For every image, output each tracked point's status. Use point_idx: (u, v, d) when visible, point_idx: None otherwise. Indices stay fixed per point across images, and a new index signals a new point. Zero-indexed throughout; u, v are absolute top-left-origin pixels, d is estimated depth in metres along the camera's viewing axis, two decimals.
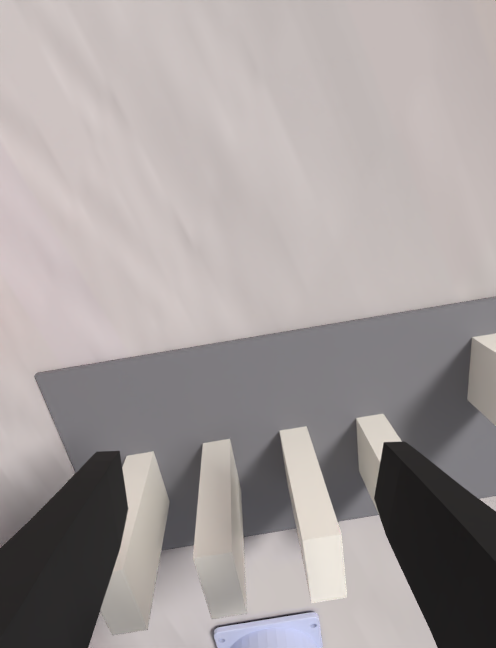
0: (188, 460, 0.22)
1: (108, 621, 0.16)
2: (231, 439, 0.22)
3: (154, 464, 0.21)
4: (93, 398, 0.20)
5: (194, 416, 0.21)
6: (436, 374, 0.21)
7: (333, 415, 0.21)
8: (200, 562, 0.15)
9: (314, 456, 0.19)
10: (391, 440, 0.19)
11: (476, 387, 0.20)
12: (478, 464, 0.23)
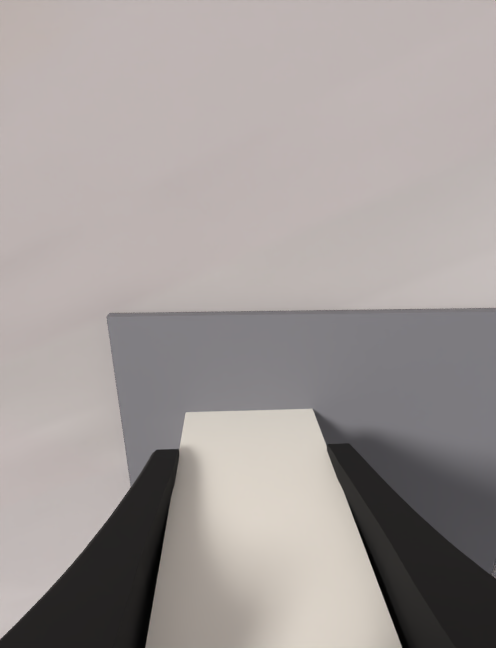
0: None
1: None
2: None
3: None
4: None
5: None
6: None
7: None
8: None
9: None
10: None
11: None
12: (462, 419, 0.12)
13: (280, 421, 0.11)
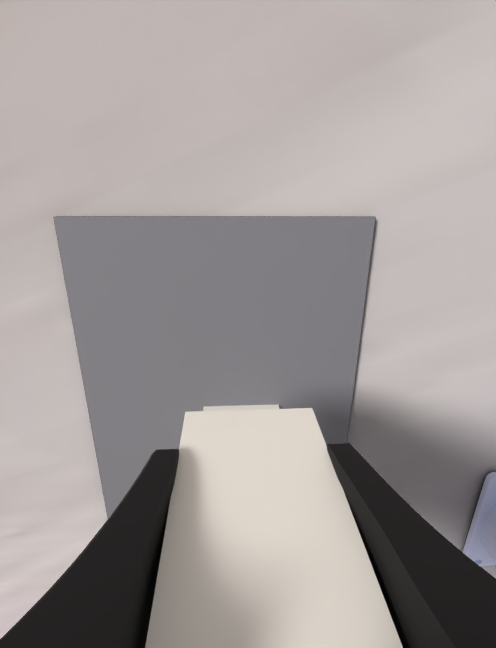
0: None
1: None
2: None
3: None
4: None
5: None
6: (160, 355, 0.18)
7: None
8: None
9: None
10: None
11: None
12: (304, 298, 0.18)
13: (279, 420, 0.11)
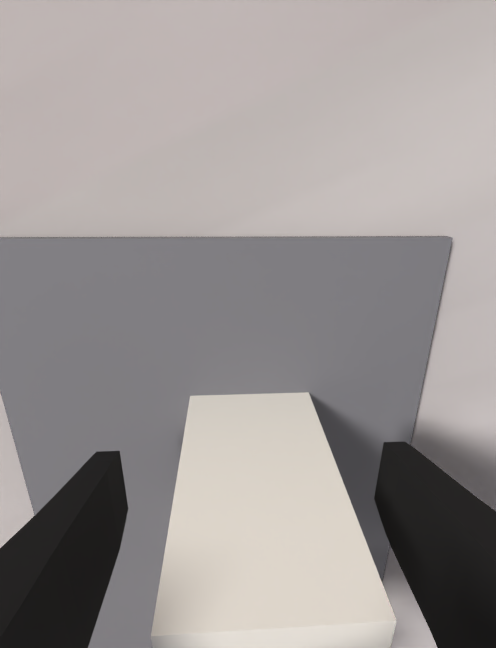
0: None
1: None
2: None
3: None
4: None
5: None
6: (131, 434, 0.13)
7: None
8: None
9: None
10: None
11: None
12: (341, 354, 0.12)
13: (278, 403, 0.12)
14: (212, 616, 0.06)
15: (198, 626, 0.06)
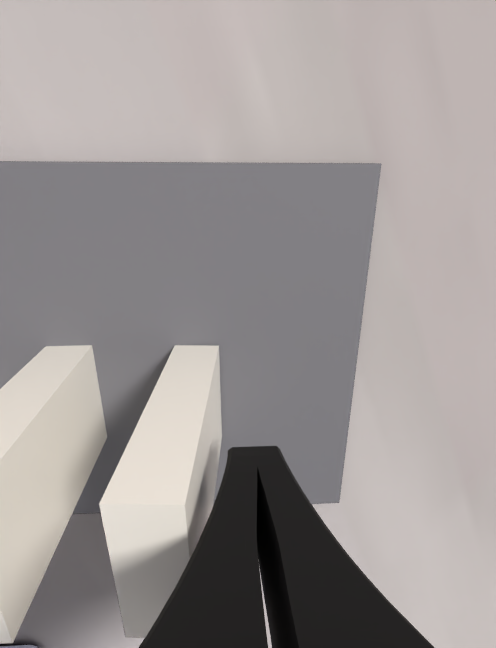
0: None
1: None
2: None
3: None
4: None
5: None
6: (173, 289, 0.13)
7: (5, 335, 0.13)
8: None
9: None
10: (50, 377, 0.11)
11: None
12: None
13: (219, 422, 0.14)
14: (188, 531, 0.07)
15: (188, 529, 0.07)
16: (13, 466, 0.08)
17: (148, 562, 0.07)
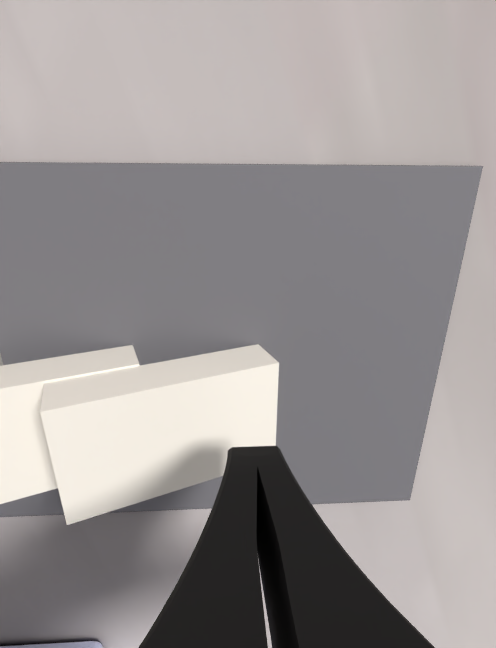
0: None
1: None
2: None
3: None
4: None
5: None
6: (270, 288, 0.13)
7: (102, 334, 0.13)
8: None
9: None
10: (62, 370, 0.12)
11: None
12: (334, 450, 0.16)
13: (260, 439, 0.13)
14: (57, 439, 0.10)
15: (49, 435, 0.10)
16: None
17: None
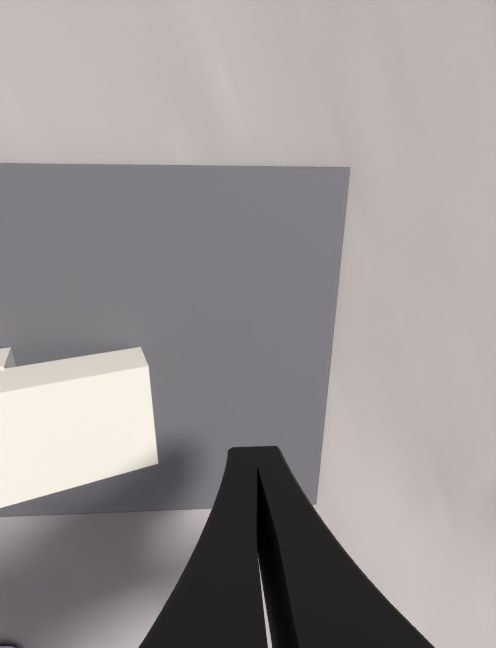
0: None
1: None
2: None
3: None
4: None
5: None
6: (145, 290, 0.13)
7: None
8: None
9: None
10: None
11: None
12: None
13: (137, 443, 0.13)
14: None
15: None
16: None
17: None
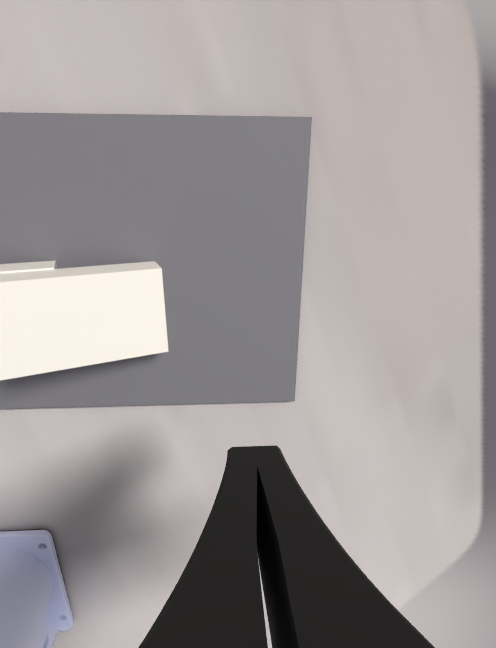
0: None
1: None
2: None
3: None
4: None
5: None
6: (159, 214, 0.17)
7: (31, 251, 0.17)
8: None
9: None
10: None
11: None
12: (226, 355, 0.19)
13: (153, 331, 0.17)
14: None
15: None
16: None
17: None
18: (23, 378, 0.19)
